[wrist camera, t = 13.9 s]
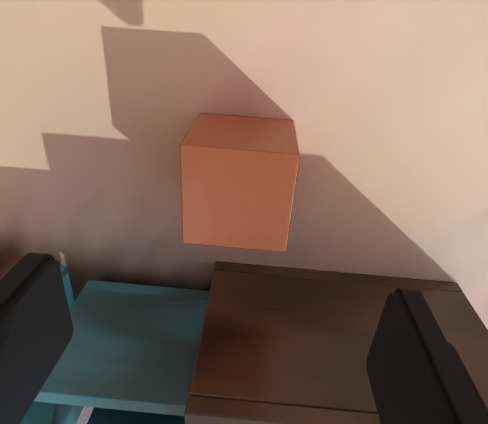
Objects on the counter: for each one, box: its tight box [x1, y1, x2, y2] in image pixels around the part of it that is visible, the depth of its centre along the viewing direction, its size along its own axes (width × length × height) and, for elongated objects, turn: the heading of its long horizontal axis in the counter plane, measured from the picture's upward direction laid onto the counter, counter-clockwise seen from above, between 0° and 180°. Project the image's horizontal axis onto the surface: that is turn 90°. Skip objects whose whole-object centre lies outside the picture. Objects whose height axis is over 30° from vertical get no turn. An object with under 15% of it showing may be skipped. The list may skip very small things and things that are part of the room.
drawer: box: [20, 265, 210, 424], centre depth 22 cm, size 18×11×8 cm, turn 86°
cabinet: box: [184, 262, 488, 424], centre depth 21 cm, size 15×13×10 cm
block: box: [180, 113, 300, 252], centre depth 17 cm, size 5×5×5 cm
